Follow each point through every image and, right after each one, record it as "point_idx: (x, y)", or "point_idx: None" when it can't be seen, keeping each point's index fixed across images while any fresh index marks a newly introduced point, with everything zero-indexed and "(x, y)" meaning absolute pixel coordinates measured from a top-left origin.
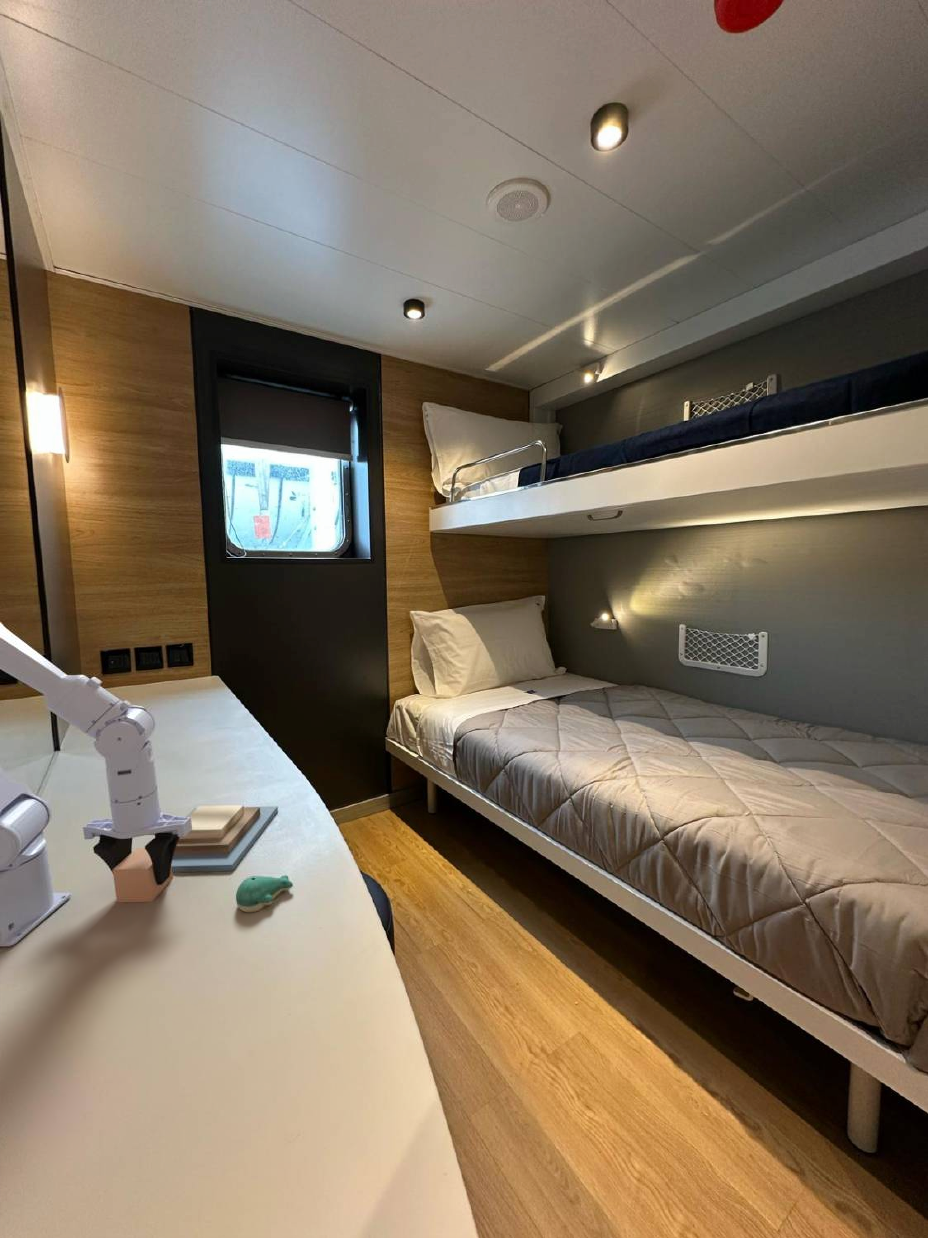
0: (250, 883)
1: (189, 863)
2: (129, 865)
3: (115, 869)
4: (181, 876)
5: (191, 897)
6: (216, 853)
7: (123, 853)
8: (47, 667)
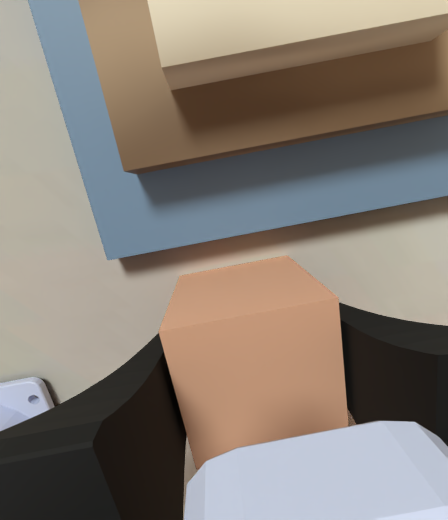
0: None
1: (324, 204)
2: (247, 437)
3: None
4: (308, 240)
5: (402, 318)
6: (399, 125)
7: (168, 429)
8: None
